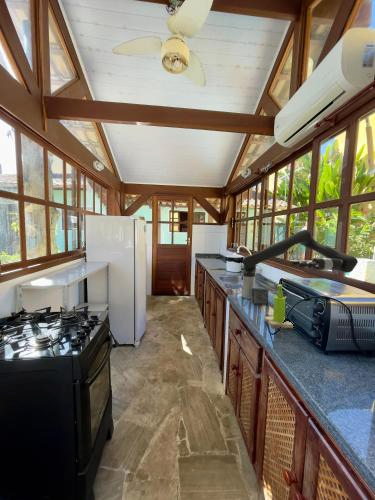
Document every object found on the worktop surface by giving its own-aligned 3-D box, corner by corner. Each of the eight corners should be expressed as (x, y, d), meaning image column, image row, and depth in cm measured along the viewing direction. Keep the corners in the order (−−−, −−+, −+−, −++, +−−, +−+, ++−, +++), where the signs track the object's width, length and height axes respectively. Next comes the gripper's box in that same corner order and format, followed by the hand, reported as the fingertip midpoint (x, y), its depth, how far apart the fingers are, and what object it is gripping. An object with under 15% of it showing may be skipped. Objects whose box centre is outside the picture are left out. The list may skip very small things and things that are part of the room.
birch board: (264, 319, 131) (264, 316, 131) (284, 319, 131) (284, 316, 131) (272, 328, 119) (272, 324, 119) (294, 328, 119) (294, 324, 119)
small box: (266, 302, 165) (266, 288, 164) (268, 304, 158) (268, 290, 157) (251, 301, 166) (251, 287, 165) (253, 304, 159) (253, 289, 158)
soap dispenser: (283, 318, 128) (285, 284, 126) (284, 322, 121) (286, 286, 120) (273, 317, 130) (274, 283, 128) (273, 321, 123) (274, 285, 122)
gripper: (315, 256, 144) (290, 256, 144) (329, 259, 130) (301, 259, 129) (314, 268, 144) (290, 268, 144) (329, 272, 130) (301, 271, 130)
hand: (295, 263), depth 137 cm, fingers open, 8 cm apart
